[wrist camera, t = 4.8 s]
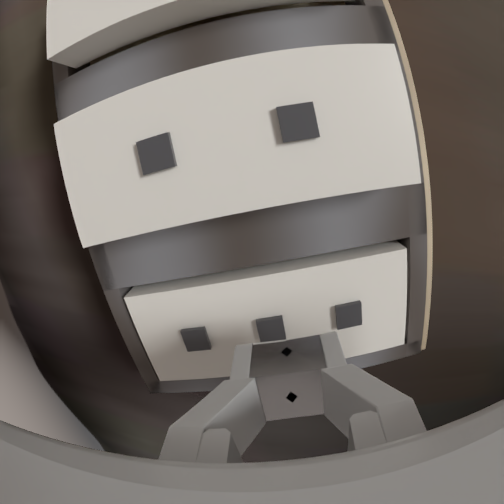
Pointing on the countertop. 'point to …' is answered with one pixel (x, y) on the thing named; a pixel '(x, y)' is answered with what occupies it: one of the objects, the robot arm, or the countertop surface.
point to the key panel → (268, 219)
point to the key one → (127, 22)
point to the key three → (273, 308)
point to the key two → (239, 139)
